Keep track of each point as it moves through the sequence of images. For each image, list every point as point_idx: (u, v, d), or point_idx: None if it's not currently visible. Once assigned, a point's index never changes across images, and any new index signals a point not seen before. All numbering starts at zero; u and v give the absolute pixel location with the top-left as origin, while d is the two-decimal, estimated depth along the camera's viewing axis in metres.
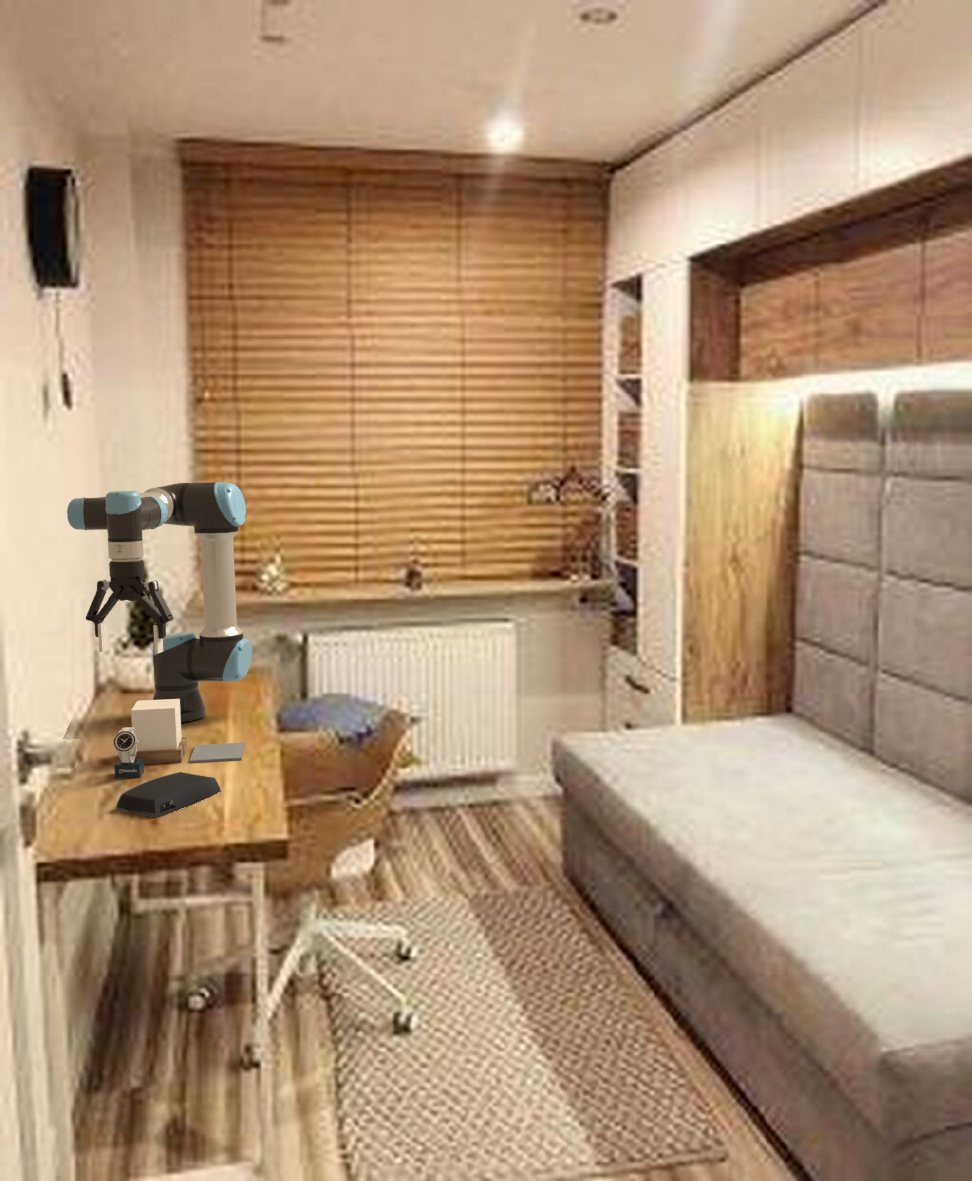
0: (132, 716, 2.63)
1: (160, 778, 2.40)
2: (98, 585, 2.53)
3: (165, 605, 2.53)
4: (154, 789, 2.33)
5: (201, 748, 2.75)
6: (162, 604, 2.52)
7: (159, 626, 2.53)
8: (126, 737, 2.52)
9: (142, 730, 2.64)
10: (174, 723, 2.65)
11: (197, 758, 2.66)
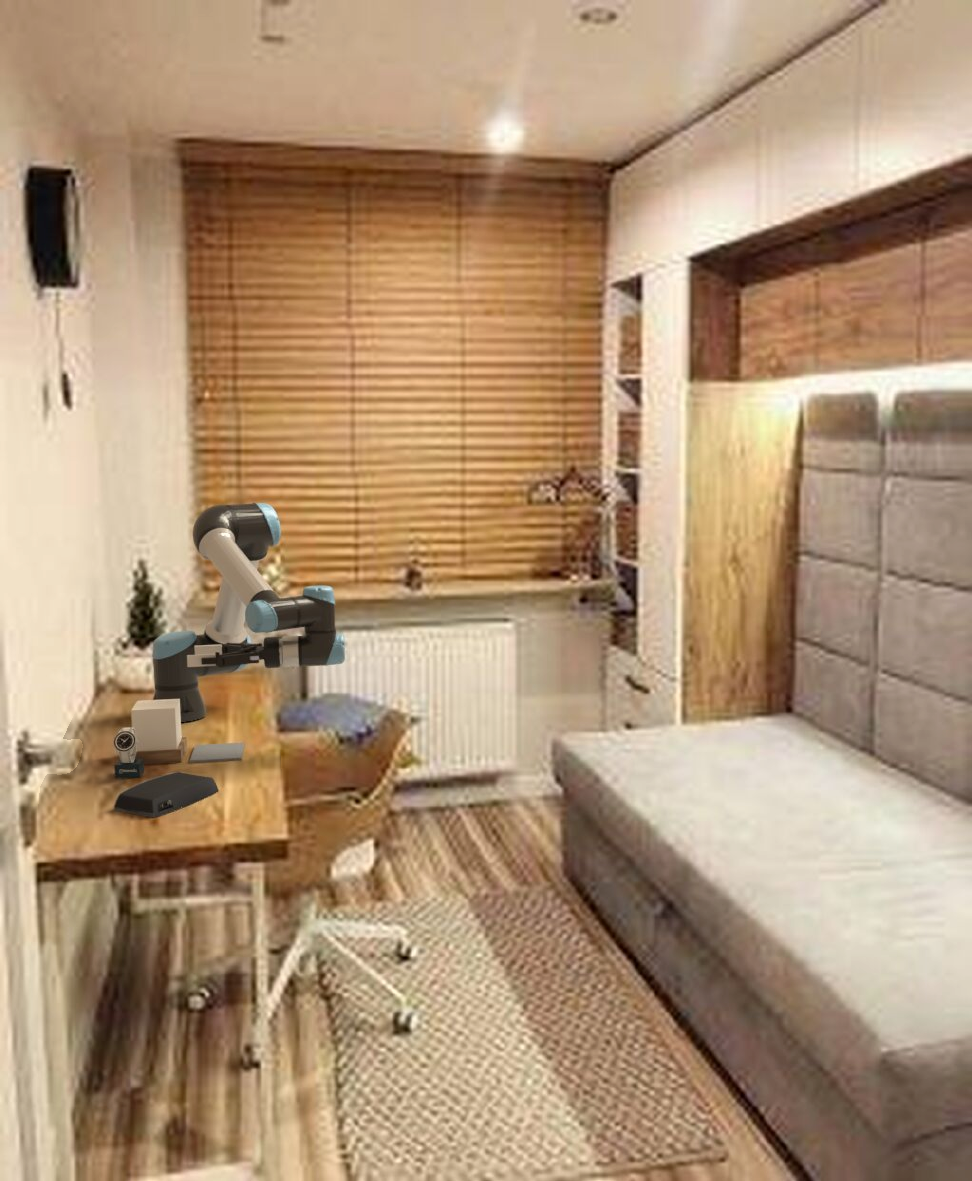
0: (132, 716, 2.63)
1: (158, 778, 2.40)
2: None
3: None
4: (151, 789, 2.33)
5: (201, 748, 2.75)
6: None
7: None
8: (126, 737, 2.52)
9: (142, 730, 2.64)
10: (174, 723, 2.65)
11: (197, 758, 2.66)
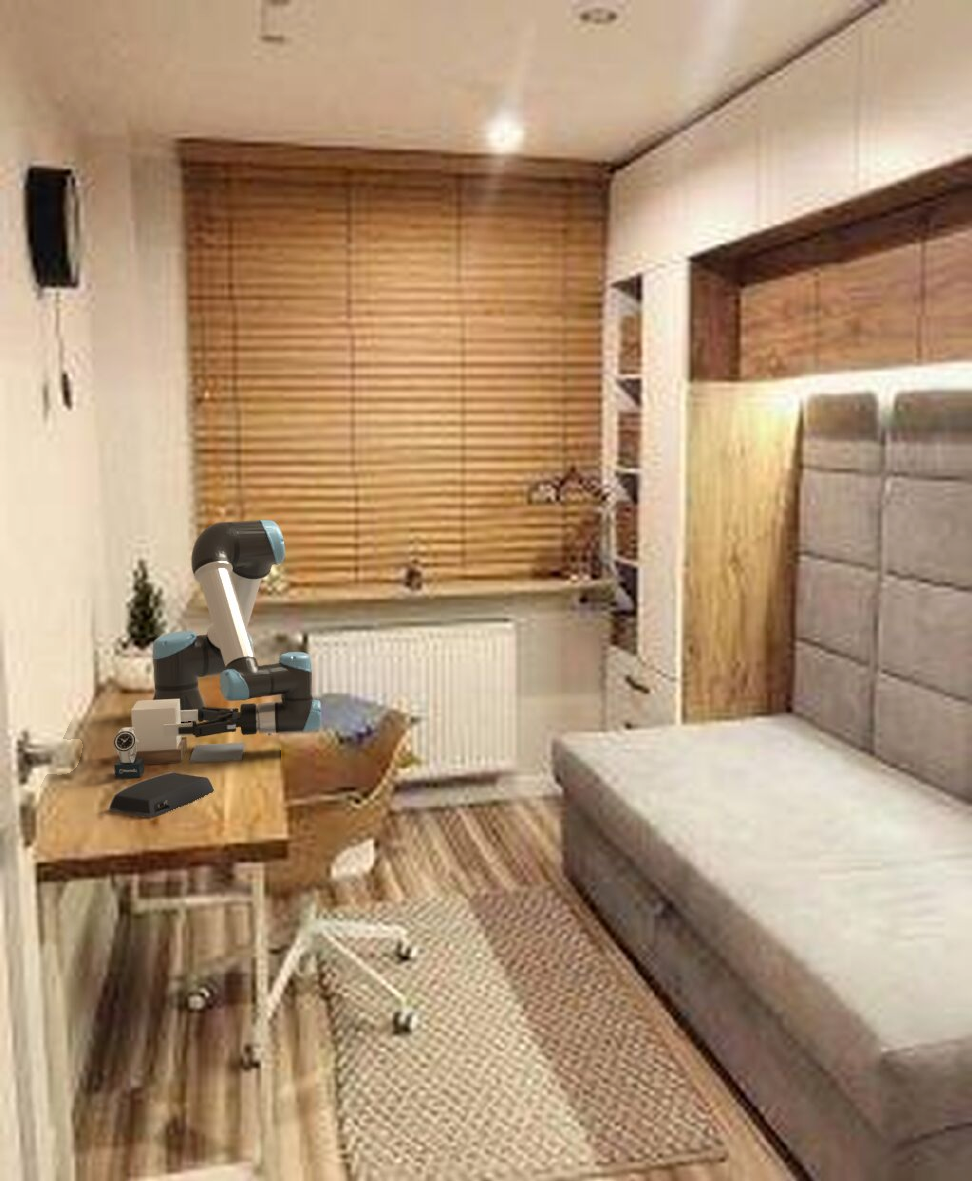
0: (132, 716, 2.63)
1: (153, 778, 2.40)
2: None
3: None
4: (147, 789, 2.33)
5: (201, 748, 2.75)
6: None
7: None
8: (126, 737, 2.52)
9: (142, 730, 2.64)
10: (174, 723, 2.65)
11: (197, 758, 2.66)
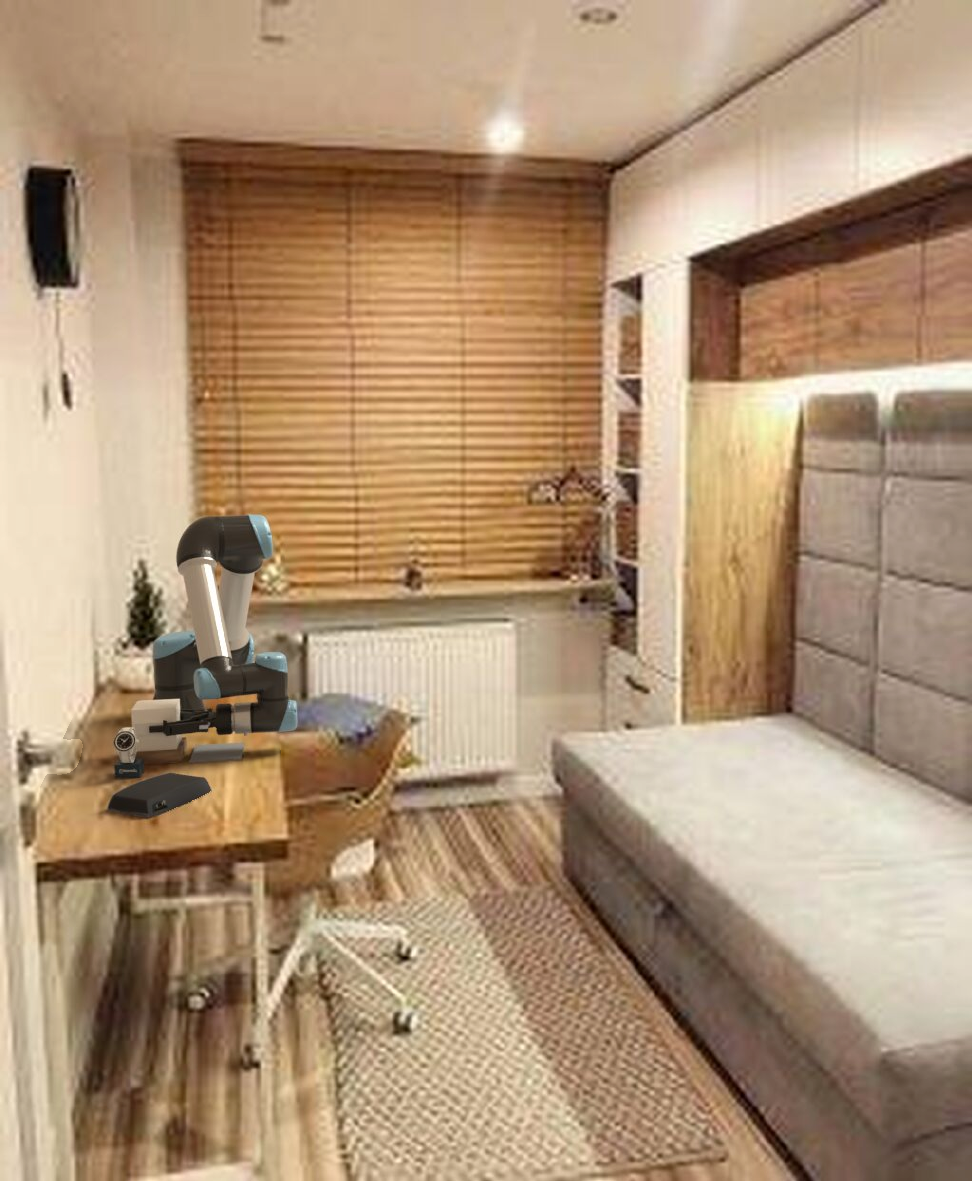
0: (132, 716, 2.63)
1: (150, 779, 2.40)
2: None
3: None
4: (145, 789, 2.33)
5: (201, 748, 2.75)
6: None
7: None
8: (126, 737, 2.52)
9: None
10: None
11: (197, 758, 2.66)
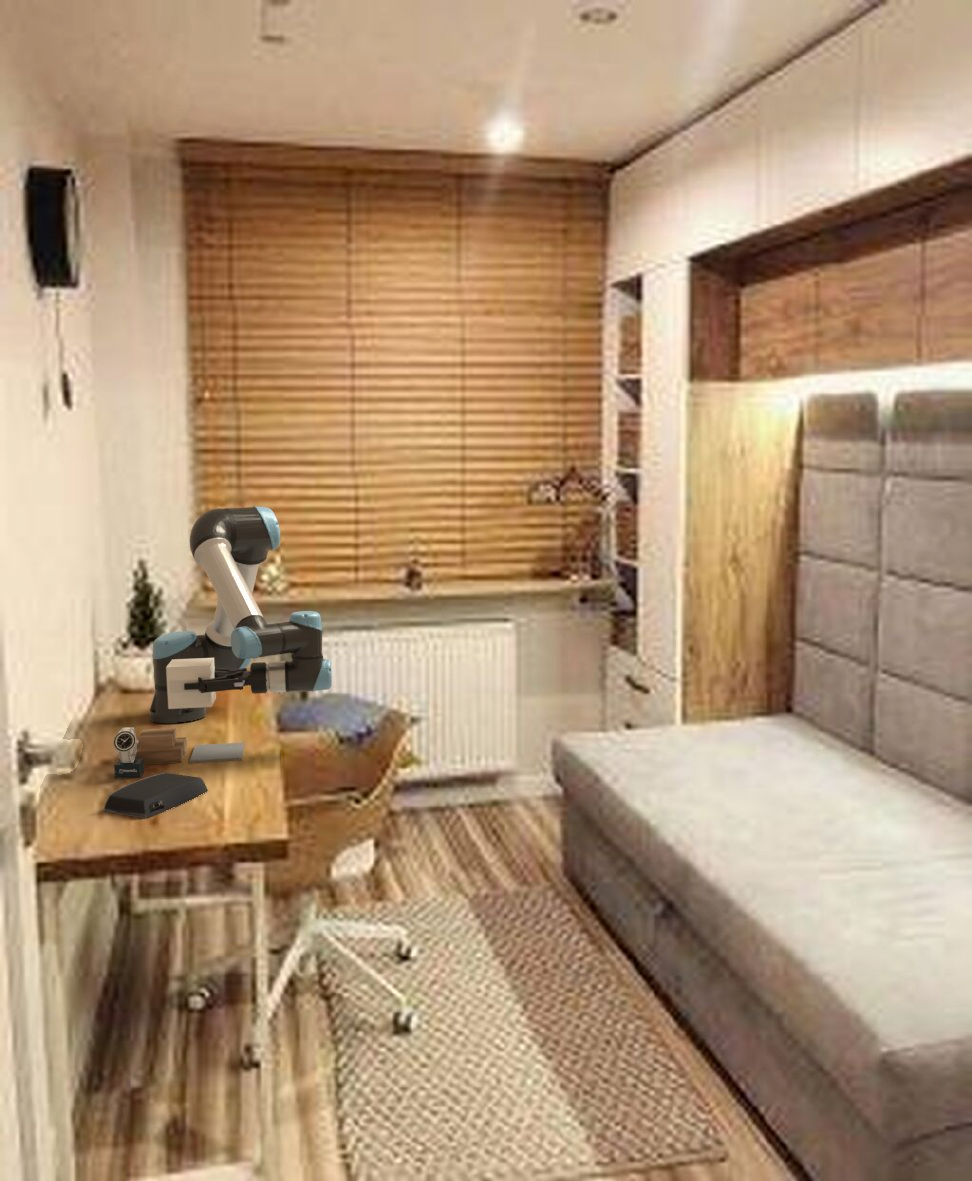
0: (167, 673, 2.62)
1: (146, 779, 2.40)
2: None
3: None
4: (141, 789, 2.33)
5: (201, 748, 2.75)
6: None
7: None
8: (126, 737, 2.52)
9: None
10: None
11: (197, 758, 2.66)
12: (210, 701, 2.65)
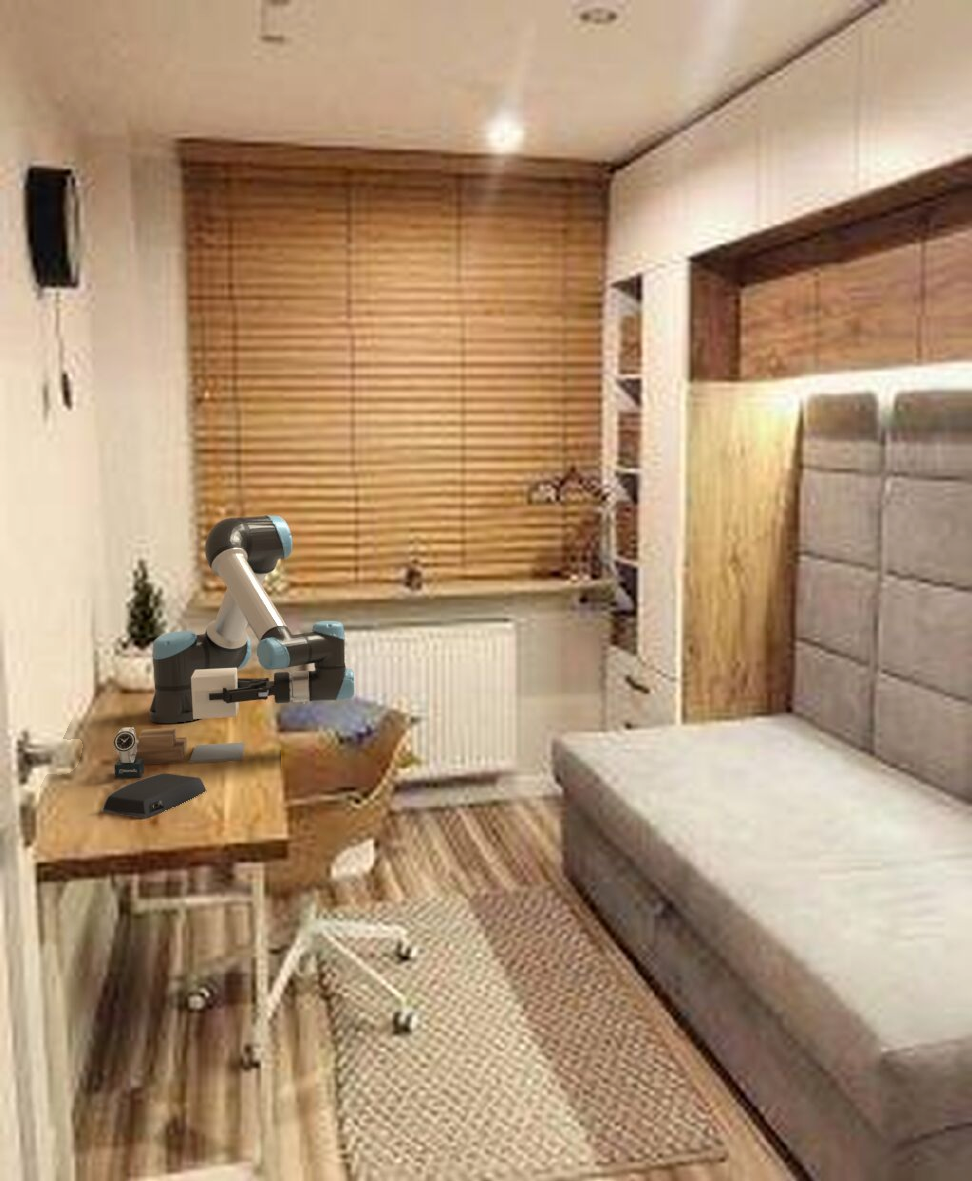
0: (192, 684, 2.64)
1: (144, 779, 2.40)
2: None
3: None
4: (140, 790, 2.32)
5: (201, 748, 2.75)
6: None
7: None
8: (126, 737, 2.52)
9: None
10: None
11: (197, 758, 2.66)
12: (235, 711, 2.66)
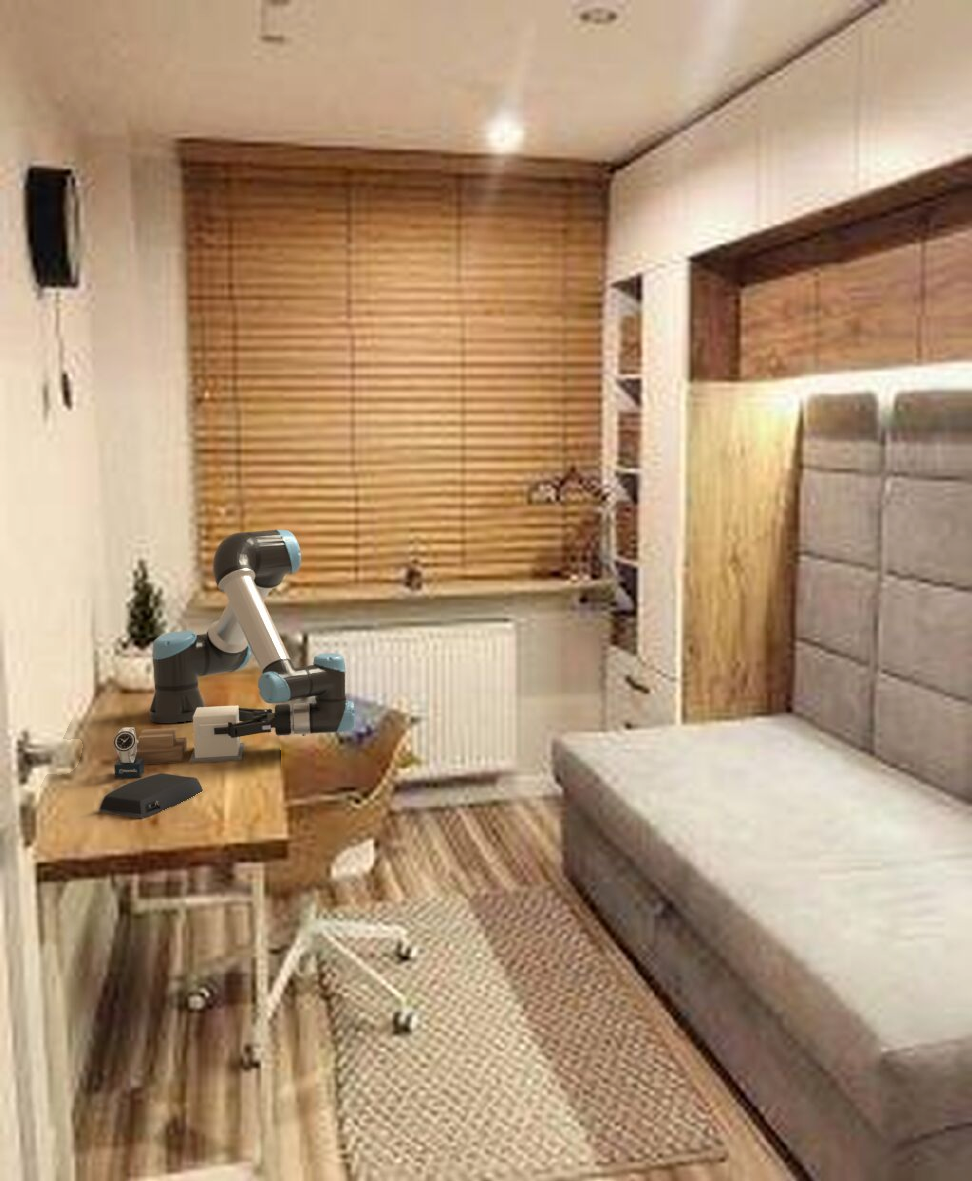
0: (194, 723, 2.65)
1: (141, 779, 2.40)
2: None
3: None
4: (137, 790, 2.32)
5: None
6: None
7: None
8: (126, 737, 2.52)
9: (203, 737, 2.66)
10: None
11: (197, 758, 2.66)
12: (236, 750, 2.68)
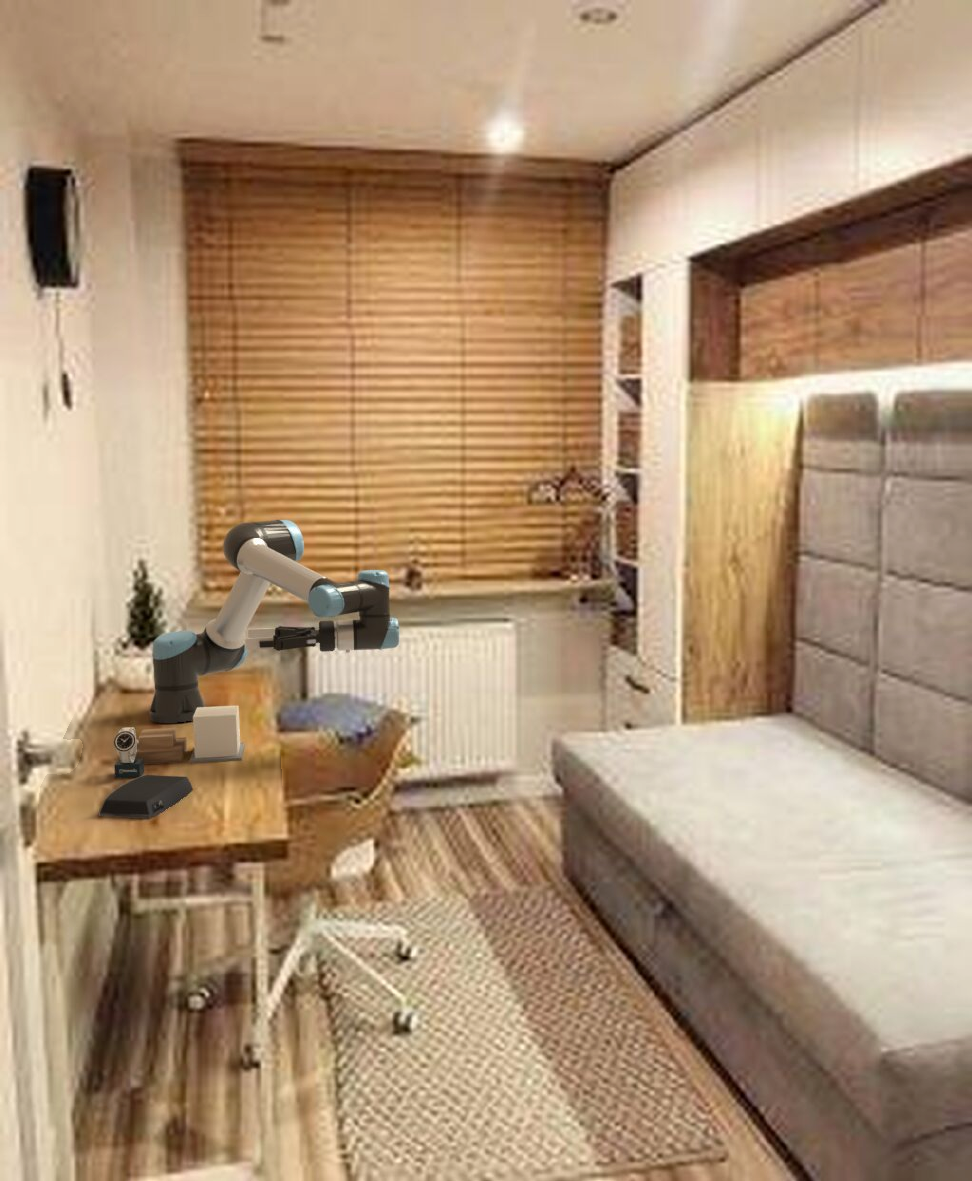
0: (194, 723, 2.65)
1: (132, 781, 2.38)
2: None
3: None
4: (135, 791, 2.31)
5: None
6: None
7: None
8: (126, 737, 2.52)
9: (203, 737, 2.66)
10: (235, 730, 2.67)
11: (197, 758, 2.66)
12: (236, 750, 2.68)
